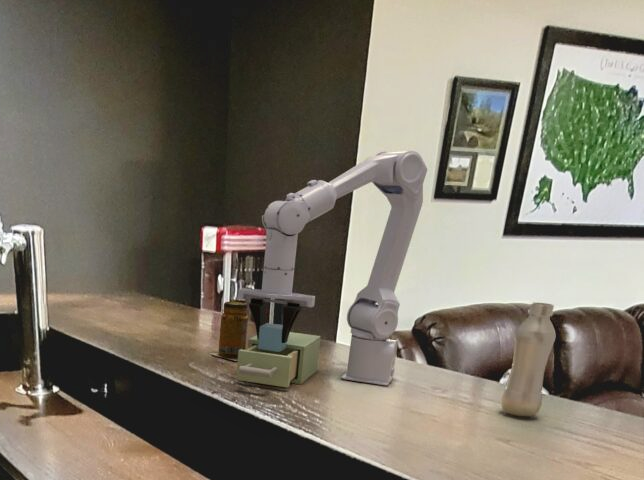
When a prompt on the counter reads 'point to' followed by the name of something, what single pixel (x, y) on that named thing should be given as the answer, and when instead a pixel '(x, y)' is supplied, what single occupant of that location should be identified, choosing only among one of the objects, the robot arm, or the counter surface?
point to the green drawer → (268, 366)
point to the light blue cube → (271, 337)
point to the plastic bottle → (529, 361)
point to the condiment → (232, 330)
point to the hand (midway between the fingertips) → (272, 340)
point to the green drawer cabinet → (301, 353)
